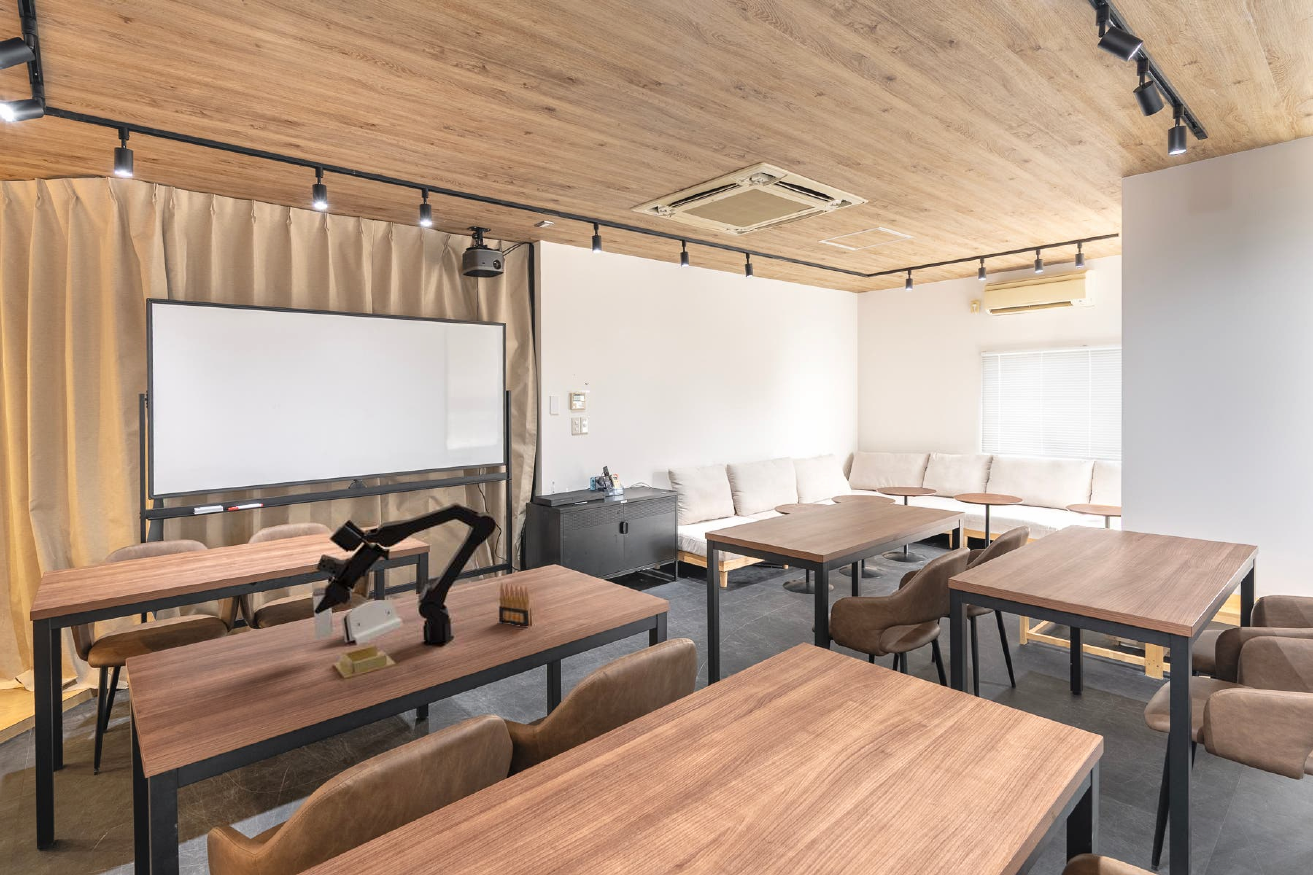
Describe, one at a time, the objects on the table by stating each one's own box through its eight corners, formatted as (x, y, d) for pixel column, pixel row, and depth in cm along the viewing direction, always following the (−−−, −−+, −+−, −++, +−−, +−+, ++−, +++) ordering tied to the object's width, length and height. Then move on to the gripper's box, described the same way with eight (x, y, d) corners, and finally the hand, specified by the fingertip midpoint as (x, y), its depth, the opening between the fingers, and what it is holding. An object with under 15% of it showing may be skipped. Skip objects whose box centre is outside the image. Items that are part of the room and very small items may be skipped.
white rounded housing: (356, 645, 178) (346, 610, 178) (345, 648, 180) (335, 613, 181) (404, 625, 193) (394, 592, 193) (394, 628, 195) (384, 596, 196)
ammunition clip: (532, 625, 191) (530, 585, 190) (528, 627, 189) (527, 587, 188) (502, 620, 195) (501, 581, 194) (498, 622, 193) (497, 583, 192)
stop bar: (333, 629, 171) (330, 586, 171) (331, 636, 166) (328, 592, 166) (317, 631, 170) (314, 588, 169) (315, 638, 165) (312, 594, 164)
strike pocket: (382, 652, 172) (382, 641, 172) (395, 664, 164) (394, 653, 164) (333, 664, 165) (333, 654, 165) (344, 678, 157) (344, 667, 156)
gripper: (338, 536, 177) (295, 581, 173) (332, 551, 159) (284, 601, 156) (371, 561, 180) (330, 605, 177) (369, 578, 163) (322, 628, 160)
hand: (316, 609), depth 167 cm, fingers closed on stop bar, 5 cm apart
